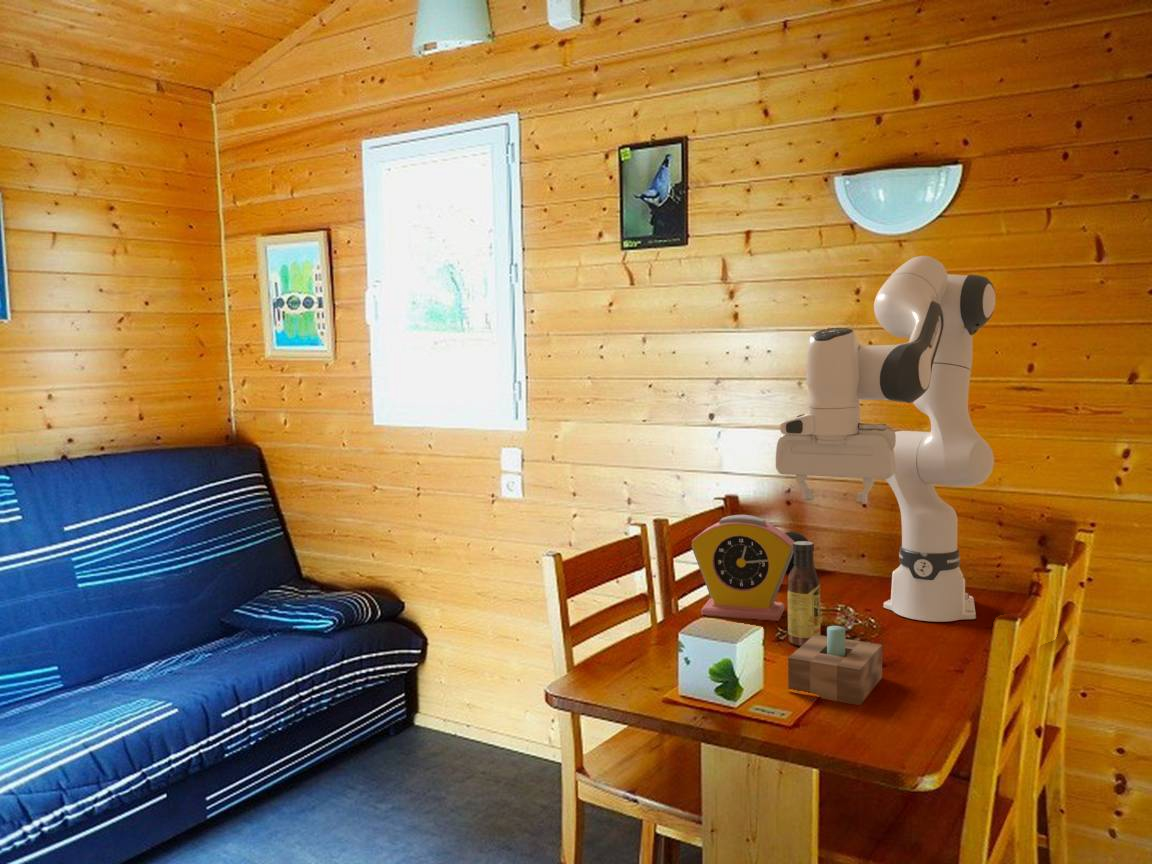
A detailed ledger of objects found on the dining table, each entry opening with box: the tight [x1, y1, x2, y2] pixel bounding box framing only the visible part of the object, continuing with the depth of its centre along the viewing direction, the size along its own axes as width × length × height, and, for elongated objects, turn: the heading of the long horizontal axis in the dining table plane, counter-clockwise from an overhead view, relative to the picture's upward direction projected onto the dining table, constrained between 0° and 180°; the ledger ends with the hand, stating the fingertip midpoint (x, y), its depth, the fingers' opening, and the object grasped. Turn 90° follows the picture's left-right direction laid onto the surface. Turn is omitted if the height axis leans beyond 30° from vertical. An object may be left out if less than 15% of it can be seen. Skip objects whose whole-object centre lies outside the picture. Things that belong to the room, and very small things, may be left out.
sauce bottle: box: [787, 540, 821, 647], centre depth 180 cm, size 6×6×20 cm
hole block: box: [787, 634, 883, 706], centre depth 159 cm, size 14×12×6 cm
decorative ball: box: [784, 531, 810, 572], centre depth 237 cm, size 10×10×10 cm
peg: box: [826, 625, 846, 657], centre depth 158 cm, size 3×3×10 cm
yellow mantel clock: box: [690, 514, 794, 622], centre depth 201 cm, size 22×9×22 cm, turn 69°
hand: (834, 501), depth 161 cm, fingers open, 8 cm apart
